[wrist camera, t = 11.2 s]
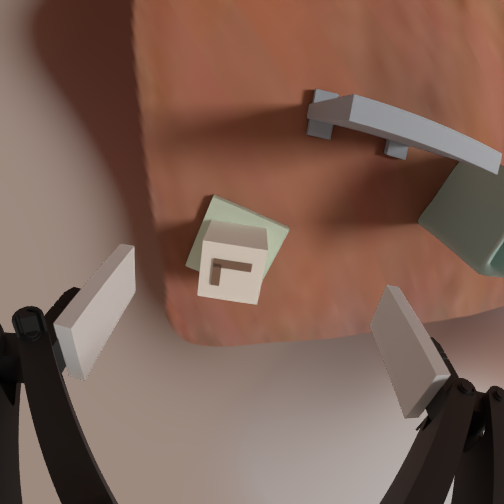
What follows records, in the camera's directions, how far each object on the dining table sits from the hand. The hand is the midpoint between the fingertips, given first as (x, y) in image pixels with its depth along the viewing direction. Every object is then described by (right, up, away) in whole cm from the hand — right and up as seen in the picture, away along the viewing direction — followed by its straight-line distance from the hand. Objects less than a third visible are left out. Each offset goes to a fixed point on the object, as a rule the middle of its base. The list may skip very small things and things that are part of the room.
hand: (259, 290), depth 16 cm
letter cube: (-2, +2, +20) cm, 20 cm away
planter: (+27, +11, +17) cm, 34 cm away
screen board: (+11, +15, +15) cm, 24 cm away
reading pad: (-2, +3, +21) cm, 21 cm away
